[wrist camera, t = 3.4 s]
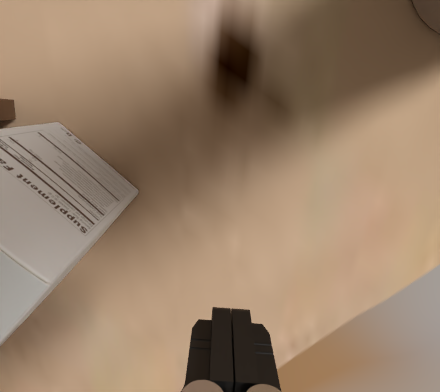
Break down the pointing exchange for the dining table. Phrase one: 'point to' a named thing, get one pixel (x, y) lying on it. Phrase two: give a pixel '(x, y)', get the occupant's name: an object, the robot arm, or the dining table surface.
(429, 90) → the dining table surface
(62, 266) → the supplement box
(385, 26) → the dining table surface
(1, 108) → the brown wooden box
